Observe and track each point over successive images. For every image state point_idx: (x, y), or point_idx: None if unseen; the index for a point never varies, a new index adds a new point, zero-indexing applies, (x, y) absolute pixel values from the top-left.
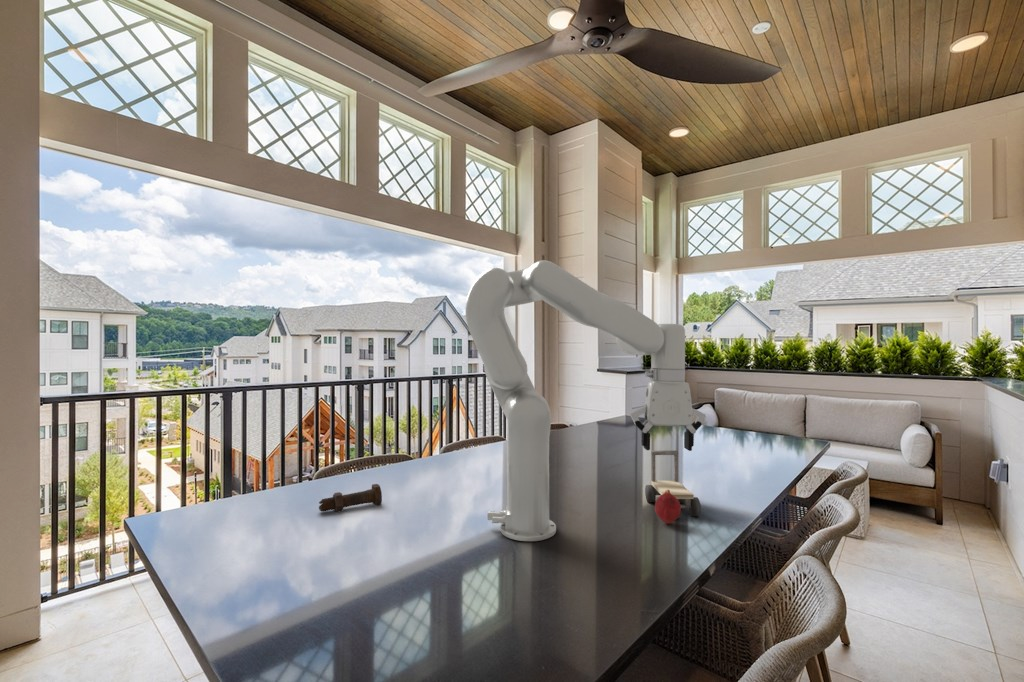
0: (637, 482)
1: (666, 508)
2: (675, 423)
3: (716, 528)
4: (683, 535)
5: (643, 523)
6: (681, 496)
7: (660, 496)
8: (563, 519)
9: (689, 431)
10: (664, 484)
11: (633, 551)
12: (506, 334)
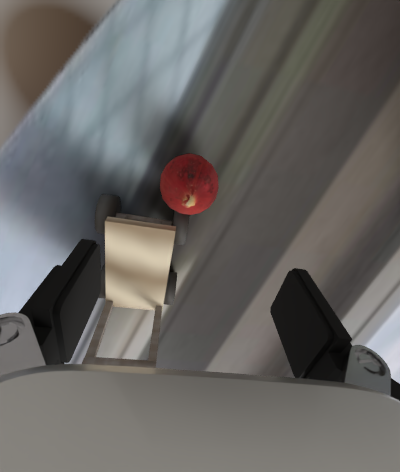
0: None
1: (206, 163)
2: (181, 391)
3: (93, 132)
4: (186, 106)
5: (235, 185)
6: (136, 223)
7: (207, 200)
8: (363, 225)
9: (37, 339)
10: (144, 288)
11: (345, 35)
12: None
